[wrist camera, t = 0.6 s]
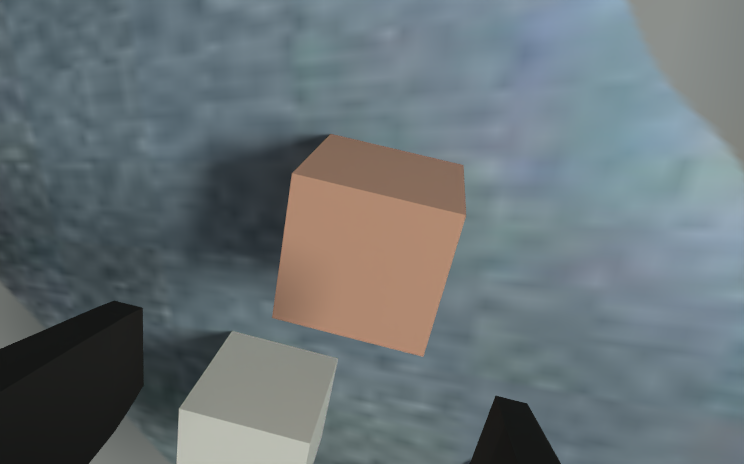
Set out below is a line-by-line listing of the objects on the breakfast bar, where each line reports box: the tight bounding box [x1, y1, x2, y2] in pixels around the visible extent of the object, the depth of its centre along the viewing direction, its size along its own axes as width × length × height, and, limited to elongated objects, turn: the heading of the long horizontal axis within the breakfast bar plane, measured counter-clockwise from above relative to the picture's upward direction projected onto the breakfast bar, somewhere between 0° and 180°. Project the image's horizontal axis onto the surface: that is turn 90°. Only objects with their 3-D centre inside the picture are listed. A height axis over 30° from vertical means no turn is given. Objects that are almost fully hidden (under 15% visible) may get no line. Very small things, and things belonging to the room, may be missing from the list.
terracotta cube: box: [272, 134, 466, 356], centre depth 17 cm, size 5×5×5 cm
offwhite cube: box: [177, 331, 338, 464], centre depth 22 cm, size 5×5×5 cm
